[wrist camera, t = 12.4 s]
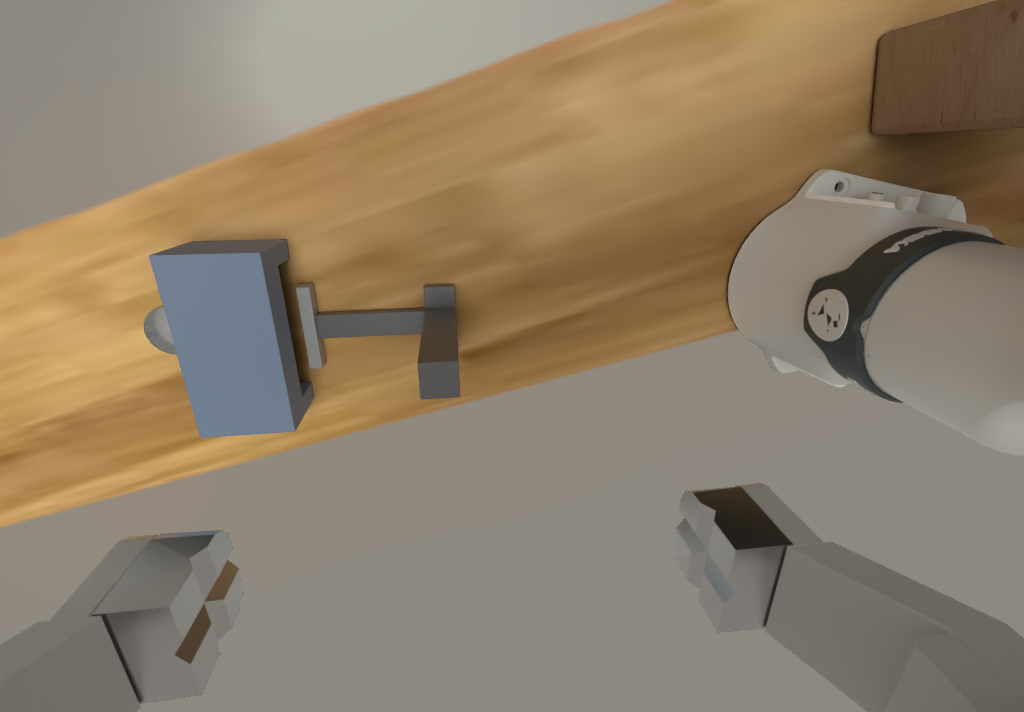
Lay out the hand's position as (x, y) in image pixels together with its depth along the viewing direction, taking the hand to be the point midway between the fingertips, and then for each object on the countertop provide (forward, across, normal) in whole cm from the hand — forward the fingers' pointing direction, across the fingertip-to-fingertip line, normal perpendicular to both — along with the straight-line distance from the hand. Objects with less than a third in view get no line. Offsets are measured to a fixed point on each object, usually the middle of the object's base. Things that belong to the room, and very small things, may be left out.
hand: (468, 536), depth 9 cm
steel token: (+34, +23, +6) cm, 42 cm away
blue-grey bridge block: (+34, +16, +6) cm, 38 cm away
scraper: (+34, +6, +7) cm, 35 cm away
